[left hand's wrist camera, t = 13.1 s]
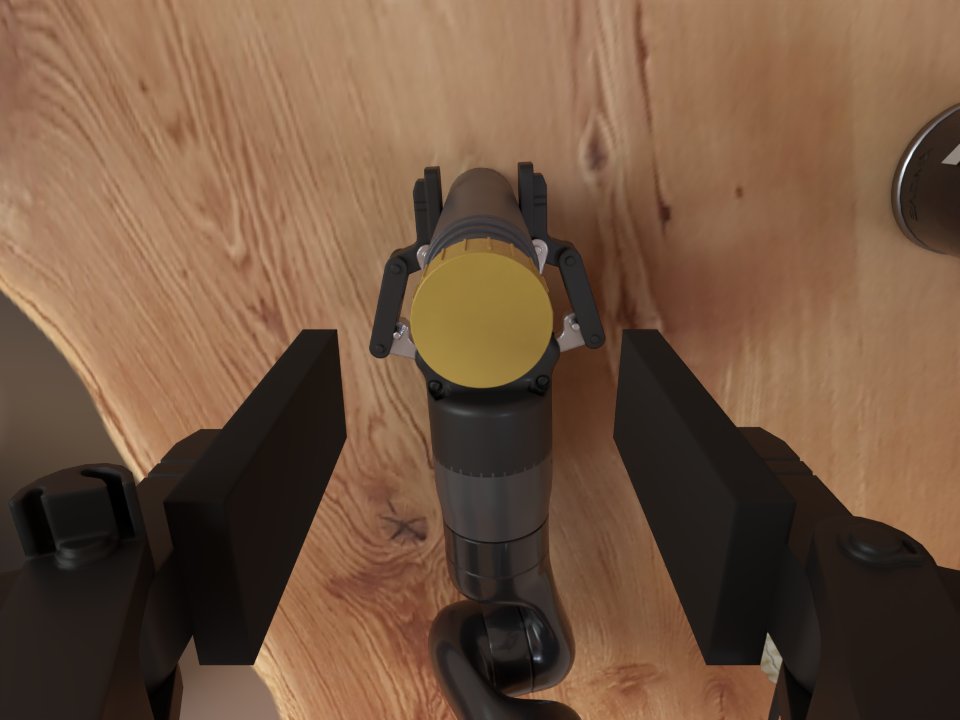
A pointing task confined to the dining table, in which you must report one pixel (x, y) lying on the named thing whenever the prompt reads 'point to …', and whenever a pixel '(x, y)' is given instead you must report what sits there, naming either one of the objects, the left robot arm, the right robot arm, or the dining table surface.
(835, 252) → the dining table surface
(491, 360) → the cap
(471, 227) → the bottle
